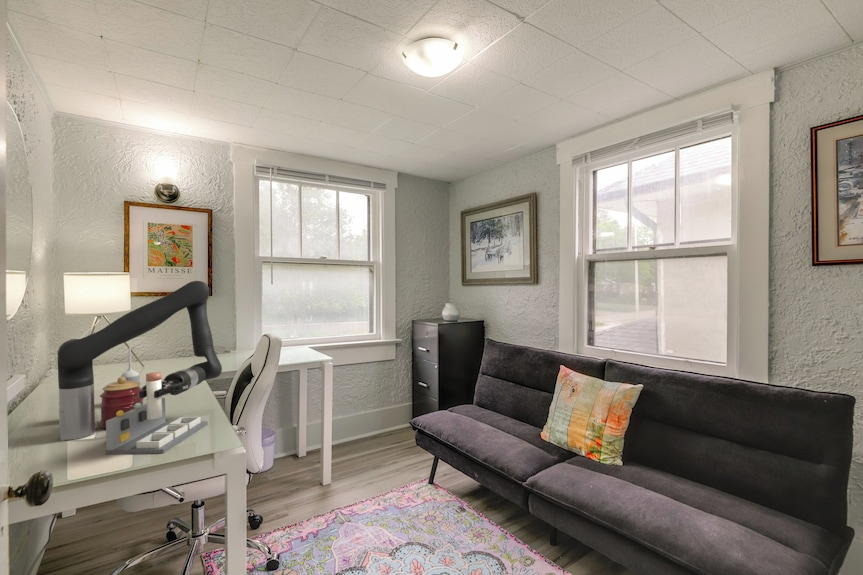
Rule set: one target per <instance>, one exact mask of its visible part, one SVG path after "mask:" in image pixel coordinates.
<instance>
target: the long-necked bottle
mask: <svg viewBox="0 0 863 575" xmlns="http://www.w3.org/2000/svg"><path fill="white" fill-rule="evenodd" d="M131 348H132V347H131V346H128V351H127V350H125V351H126V358H125V359H127V357H128V363H127V360H125V361H126V362H125V363H126V364H125V365H127V364H128V368H127V369H126V371H124V372H123V373H122V374H121V376H120V377H125V378H126V380H134V381H136V382H138V383H140V382H141V381H140V373H139V372H138V371H136V370H135V369H133V368H132V351H131V350H132V349H131ZM127 352H128V356H127ZM139 387H140V388H141V383H140V385H139Z"/></svg>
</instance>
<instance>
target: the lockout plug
mask: <svg viewBox="0 0 863 575" xmlns="http://www.w3.org/2000/svg"><path fill="white" fill-rule="evenodd" d="M145 381H146V382H145V385H146V392H147V397H146V403H147V419H157V418H161V417H162V398H163V396H161V397H159V398H154V391H156V390H159V389H161V388H162V386H161V381H162V372H160V371H156V372H149V373H146V374H145Z"/></svg>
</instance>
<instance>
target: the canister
mask: <svg viewBox="0 0 863 575" xmlns="http://www.w3.org/2000/svg"><path fill="white" fill-rule="evenodd" d="M139 385H140V387H139ZM102 390H103V392H102V393H101V394H100V395H99V397H100V398H101V403H100V404H99V405H100V426H101V428H102V427H103V428H102V429H104V428H106V421H107V420H109V419H112V418H114V417H116V413H117V412H118V411H120V410H122V411H123V412H124V413H126V412H128V411H130V410H132V409H135V407H134V406H135V404H136V403H141V405H144V398H140V397H139V392H140V391H142V387H141V383H138V382H136V381H134V380H126V378H125V377H121V376H119V377H117V380H116V381H114V382H111V383H108V384H107V385H105V386H104V387H103V388H102Z"/></svg>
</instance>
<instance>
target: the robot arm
mask: <svg viewBox="0 0 863 575" xmlns="http://www.w3.org/2000/svg"><path fill="white" fill-rule="evenodd" d="M209 296H210V287H209V286H208V284H207V283H206V282H203V281H202V280H201V281H200V280H193V281H190V282H187V283H186V284H184V285H183V286H182V287H179V288H178V289H175V291H172V292H171V293H170V294H168V295H165V296H163V297H160V298H158V299H156V300H153V301H152V302H148V303H146V304H144V305H143V306H139V307H138V308H136V309H134V310H131V311H130V312H127V313H126V314H124V315H121V316H120V317H118V318H117V319H116V320H114V321H113V322H111V323H110V324H108V325H106V326H105V327H104V328H102V329H100V330H98V331H96V332H94V333H92V334H89V335H86V336H84V337H82V338H73V339H69V340H67V341H64V342H63V343H61V345H60V346H59V348H58V350H57V380H58V406H59V408H58V422H59V439H60V441H61V442H62V441H69V440H70V441H71V440H77V439H82V438H85V436H86V437H89V436H91V435H93V434H95V433H96V419H95V418H96V416H95V414H96V413H95V410H96V409H95V380H94V378H95V377H94V376H95V375H94V365H93V362H94V361H93V360H95V359H97V358H98V357H99V356H101V355H103V354H105V353H106V352H108V351H110V350H111V349H113V348H115V347H117V346H119V345H122V344H125V343H127V342H129V341H131V340H133V339H135V338H137V337H140V336H142V335H144V334H146V333H148V332H150V331H152V330H153V329H155V328H157V327H158V326H160V325H161V324H163V323H165V321H167V320H168V319H170V318H171V317H172V316H173V315H175V314H177V313H178V312H180V311H182V310H183V309H187V312H188V317H189V321H190V330H191V340H192V349H193V354H194V356H195V357H198V358H203V357H204V358H205V359H206V361H204V362H200V363H196V364H193V365H191V366H190V367H186V368H184V369H179V370H178V371H174V372H172V373H170V374H167V375H166V376H165V377H164V379H163V380H161V386H162V388H161V389H159V390H156V391H154V398H159V397H161V396H162V397H163V396H168V395H170V396H176V395H180V394H182V393H184V392H187V391H189V390H190V389H192V388H193V387H195V386H198V385H200V384H202V382H204V381H209V380H211V379H214V378H218V377H220V376H221V373H222V370H223V369H222V368H223V366H222V363H221V361H220V359H219V358H218V356H217V353H216V351H215V346H214V340H213V335H212V330H211V327H210V323H209V319H208V313H207V306H208V305H207V304H208V300H209ZM141 388H142V391H140V392H139V397H140V398H143V399H144V398H147V392H146V384H145V385H143V386H142V387H141Z"/></svg>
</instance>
